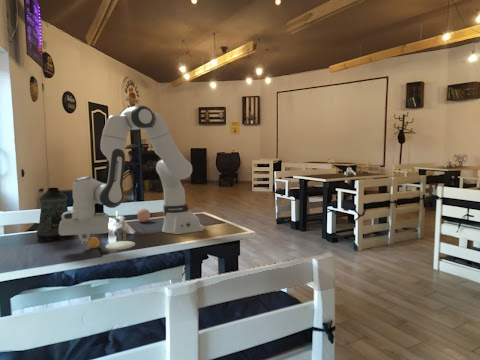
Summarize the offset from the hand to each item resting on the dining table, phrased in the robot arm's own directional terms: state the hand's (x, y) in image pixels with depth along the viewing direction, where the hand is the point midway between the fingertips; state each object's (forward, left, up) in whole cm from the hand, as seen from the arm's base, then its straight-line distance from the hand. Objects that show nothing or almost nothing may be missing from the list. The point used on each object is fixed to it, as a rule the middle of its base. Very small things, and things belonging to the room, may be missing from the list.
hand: (84, 243), depth 156 cm
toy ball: (-28, -48, -3) cm, 56 cm away
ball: (-4, 0, 0) cm, 4 cm away
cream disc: (-15, 0, -2) cm, 15 cm away
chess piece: (-3, -38, -3) cm, 38 cm away
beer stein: (+17, -28, -3) cm, 33 cm away
